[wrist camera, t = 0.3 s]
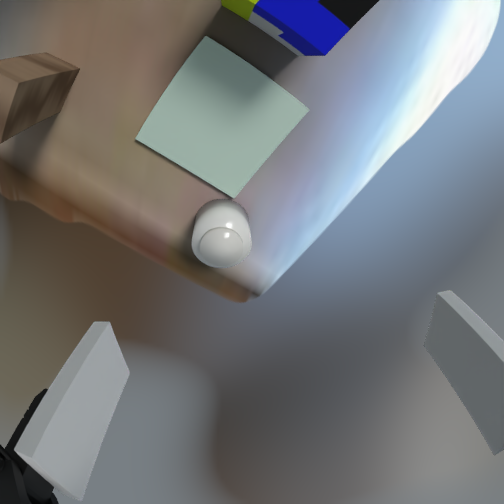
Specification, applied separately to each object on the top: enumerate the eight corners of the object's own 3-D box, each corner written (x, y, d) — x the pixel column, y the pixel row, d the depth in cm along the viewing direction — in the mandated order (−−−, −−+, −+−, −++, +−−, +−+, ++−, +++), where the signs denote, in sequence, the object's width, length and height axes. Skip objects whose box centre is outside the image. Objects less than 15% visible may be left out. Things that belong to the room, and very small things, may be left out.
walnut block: (46, 52, 22) (-19, 64, 12) (80, 68, 24) (18, 82, 15) (28, 94, 24) (-34, 121, 15) (59, 112, 27) (0, 143, 17)
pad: (206, 36, 24) (205, 35, 24) (308, 108, 30) (309, 109, 29) (136, 137, 30) (135, 138, 30) (233, 196, 36) (233, 198, 36)
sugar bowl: (214, 188, 35) (212, 211, 31) (259, 216, 38) (264, 242, 34) (185, 228, 39) (180, 255, 34) (228, 252, 41) (228, 280, 37)
